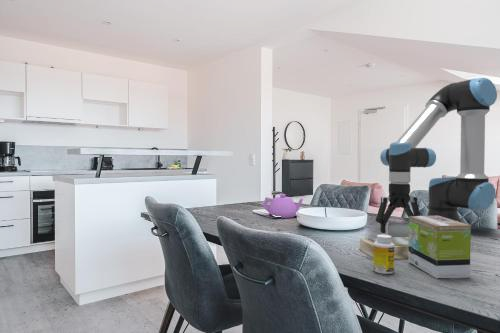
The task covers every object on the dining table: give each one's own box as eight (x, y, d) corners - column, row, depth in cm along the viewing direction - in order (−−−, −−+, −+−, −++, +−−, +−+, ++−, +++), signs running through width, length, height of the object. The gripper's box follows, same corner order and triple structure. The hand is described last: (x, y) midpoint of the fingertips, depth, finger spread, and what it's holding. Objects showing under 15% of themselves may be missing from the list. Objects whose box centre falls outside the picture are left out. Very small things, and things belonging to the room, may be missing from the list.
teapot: (261, 218, 192) (261, 195, 191) (263, 213, 207) (263, 192, 207) (303, 219, 189) (303, 196, 189) (302, 214, 204) (303, 193, 204)
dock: (407, 248, 129) (407, 236, 129) (429, 257, 117) (429, 244, 117) (359, 250, 126) (360, 237, 126) (377, 259, 115) (377, 246, 114)
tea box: (406, 263, 112) (407, 215, 111) (438, 262, 112) (438, 214, 112) (435, 279, 97) (437, 224, 96) (471, 278, 97) (472, 223, 97)
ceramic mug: (410, 245, 133) (411, 224, 132) (386, 243, 136) (387, 222, 136) (412, 240, 142) (412, 220, 142) (389, 238, 146) (390, 219, 146)
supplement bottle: (389, 276, 99) (390, 238, 99) (370, 271, 103) (370, 236, 102) (396, 271, 103) (397, 235, 103) (377, 267, 107) (378, 232, 107)
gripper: (420, 182, 143) (419, 238, 144) (366, 182, 140) (365, 239, 140) (433, 183, 136) (432, 242, 136) (376, 183, 132) (375, 244, 133)
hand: (398, 241), depth 138 cm, fingers closed on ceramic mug, 10 cm apart
